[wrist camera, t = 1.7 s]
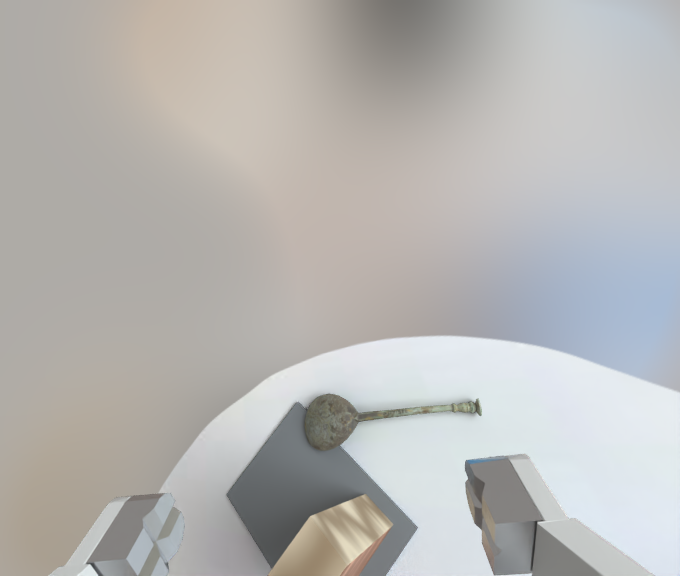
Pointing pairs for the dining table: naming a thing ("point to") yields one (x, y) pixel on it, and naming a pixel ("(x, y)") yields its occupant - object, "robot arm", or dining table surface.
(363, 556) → the brown wooden block
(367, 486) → the charcoal rubber mat
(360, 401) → the dining table surface
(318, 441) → the soupspoon
